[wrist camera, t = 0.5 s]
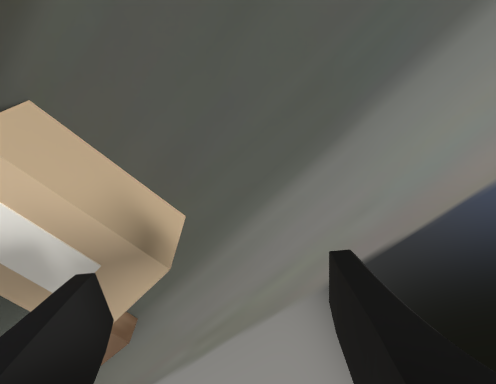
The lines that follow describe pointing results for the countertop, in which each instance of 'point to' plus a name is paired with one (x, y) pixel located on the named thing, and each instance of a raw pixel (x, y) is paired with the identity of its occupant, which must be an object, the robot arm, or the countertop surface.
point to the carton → (75, 216)
